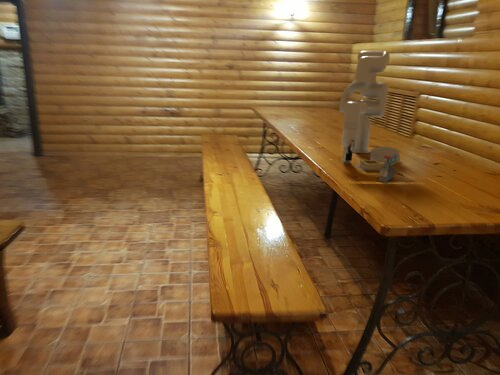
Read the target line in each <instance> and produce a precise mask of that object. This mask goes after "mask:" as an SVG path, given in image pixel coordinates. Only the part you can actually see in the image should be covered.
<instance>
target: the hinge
mask: <svg viewBox="0 0 500 375" xmlns="http://www.w3.org/2000/svg"><path fill="white" fill-rule="evenodd" d="M369 153H370V154H369V159H368V160H376V161H377V162H387V158H384V156H385V155H389V156H393V157H394V156H396V155H397V159H396V163H401V157H400V150H399V149H397V148H395V147H392V146H379V147H374V148H372V149H370V152H369ZM393 160H394V159H393ZM393 160H392V161H393ZM389 162H390V159H389Z"/></svg>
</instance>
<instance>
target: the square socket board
mask: <svg viewBox="0 0 500 375" xmlns="http://www.w3.org/2000/svg"><path fill="white" fill-rule="evenodd" d="M392 157H393V156H389V155H385V156H384V158H387V162H389V159H390V158H392ZM387 162H378V161H376V160H369V159H360V161H359V164H360V167H361V168H362V169H363V170H365V171H380V170H381V166H382V165H383V164H385V163H387Z"/></svg>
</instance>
